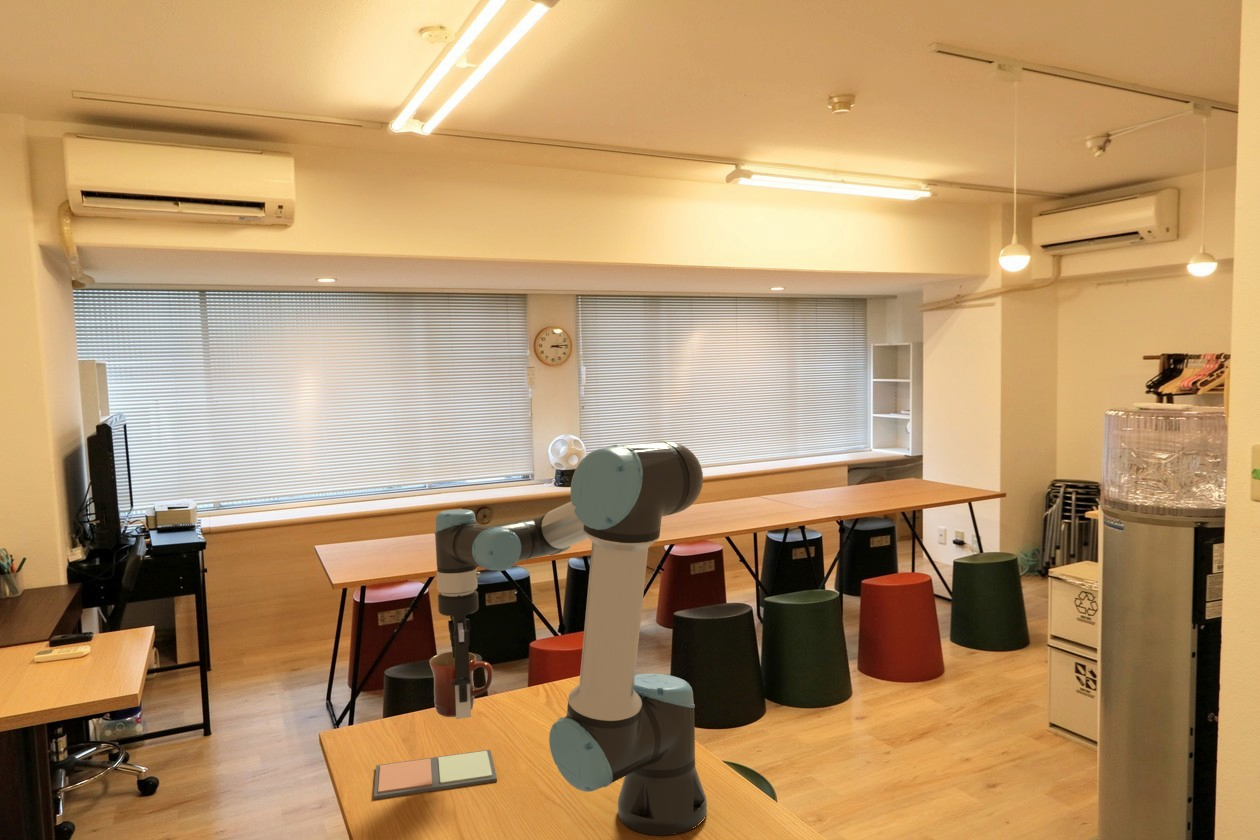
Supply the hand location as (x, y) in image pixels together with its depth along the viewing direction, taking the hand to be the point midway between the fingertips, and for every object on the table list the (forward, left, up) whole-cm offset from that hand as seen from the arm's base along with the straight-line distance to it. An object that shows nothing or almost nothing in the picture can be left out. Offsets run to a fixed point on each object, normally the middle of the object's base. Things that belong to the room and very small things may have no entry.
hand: (462, 709), depth 161 cm
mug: (-1, 0, 0) cm, 1 cm away
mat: (0, +5, -12) cm, 13 cm away
